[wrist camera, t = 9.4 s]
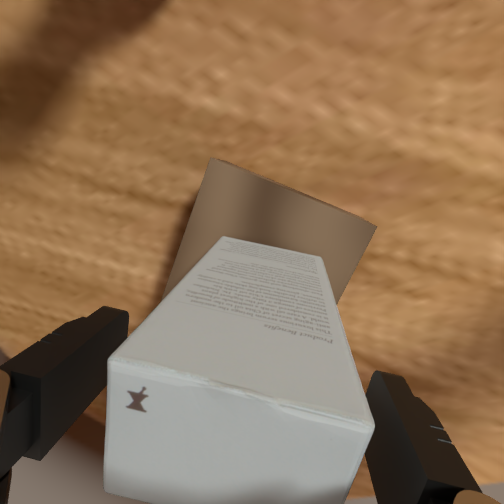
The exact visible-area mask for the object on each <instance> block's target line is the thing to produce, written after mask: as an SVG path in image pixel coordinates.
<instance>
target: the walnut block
mask: <svg viewBox="0 0 504 504" xmlns="http://www.w3.org/2000/svg"><path fill="white" fill-rule="evenodd" d="M376 228H377V226H375V225H373V224H372V223H370V222H368V221H366V220H365V219H363V218H361V217H359V216H357V215H355V214H352V213H350V212H347V211H345V210H343V209H340V208H338V207H335V206H333V205H331V204H328V203H326V202H323V201H321V200H319V199H316V198H314V197H311V196H309V195H307V194H304V193H302V192H299V191H297V190H295V189H292V188H290V187H287V186H285V185H283V184H280V183H278V182H275V181H273V180H271V179H268V178H266V177H263V176H261V175H259V174H256V173H254V172H251V171H249V170H246V169H244V168H242V167H239V166H237V165H234V164H232V163H230V162H227V161H224V160H219V159H215V158H210V161H209V163H208V166H207V169H206V172H205V175H204V178H203V181H202V184H201V187H200V189H199V192H198V195H197V198H196V201H195V204H194V207H193V210H192V213H191V215H190V218H189V221H188V224H187V227H186V230H185V233H184V236H183V239H182V241H181V244H180V247H179V250H178V253H177V256H176V259H175V262H174V265H173V268H172V270H171V273H170V276H169V279H168V282H167V285H166V288H165V291H164V294H163V296H162V299H161V301H162V300H163V299H164V298H165V297H166V296H167V295H168V294H169V293H170V292H171V291H172V290H173V288H174V287H175V286H176V285H177V284H178V283H179V282H180V281H181V280H182V279H183V278H184V276H185V275H186V274H187V273H188V272H189V271H190V270H191V269H192V268H193V267H194V266H195V265H196V264H197V263H198V262H199V261H200V259H201V258H202V257H203V256H204V255H205V254H206V253H207V252H208V251H209V250H210V249H211V248H212V247H213V245H214V244H215V243H216V242H217V241H218V240H219V239H220V238H221V237H222V236H226V237H230V238H235V239H239V240H244V241H249V242H254V243H258V244H263V245H268V246H273V247H277V248H282V249H287V250H291V251H296V252H300V253H305V254H310V255H315V256H320V257H321V258H322V260H323V262H324V266H325V269H326V272H327V275H328V278H329V282H330V285H331V288H332V292H333V295H334V299H335V302H336V305H337V303H338V301H339V299H340V297H341V296H342V294H343V292H344V290H345V288H346V286H347V284H348V282H349V280H350V278H351V276H352V274H353V272H354V271H355V269H356V267H357V265H358V263H359V261H360V259H361V257H362V255H363V253H364V251H365V249H366V247H367V246H368V244H369V242H370V240H371V238H372V236H373V234H374V232H375V230H376Z"/></svg>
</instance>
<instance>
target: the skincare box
mask: <svg viewBox="0 0 504 504" xmlns="http://www.w3.org/2000/svg"><path fill="white" fill-rule="evenodd" d="M374 428H375V424H374V420H373V417H372V414H371V412H370V408H369V405H368V402H367V399H366V396H365V393H364V390H363V387H362V384H361V381H360V378H359V375H358V372H357V369H356V366H355V362H354V359H353V356H352V353H351V350H350V347H349V344H348V341H347V337H346V334H345V331H344V327H343V324H342V321H341V318H340V314H339V311H338V308H337V305H336V302H335V299H334V295H333V292H332V288H331V285H330V282H329V278H328V275H327V272H326V269H325V266H324V262H323V260H322V258H321V257H320V256H315V255H310V254H305V253H300V252H296V251H291V250H287V249H282V248H277V247H273V246H268V245H263V244H258V243H254V242H249V241H244V240H239V239H235V238H230V237H226V236H222V237H221V238H220V239H219V240H218V241H217V242H216V243H215V244H214V245H213V247H212V248H211V249H210V250H209V251H208V252H207V253H206V254H205V255H204V256H203V257H202V258H201V259H200V261H199V262H198V263H197V264H196V265H195V266H194V267H193V268H192V269H191V270H190V271H189V272H188V273H187V274H186V275H185V276H184V278H183V279H182V280H181V281H180V282H179V283H178V284H177V285H176V286H175V287H174V288H173V290H172V291H171V292H170V293H169V294H168V295H167V296H166V297H165V298H164V299H163V300H162V301H161V302H160V304H159V305H158V306H157V307H156V308H155V309H154V310H153V311H152V312H151V313H150V314H149V315H148V316H147V318H146V319H145V320H144V321H143V322H142V323H141V324H140V325H139V326H138V327H137V328H136V329H135V330H134V331H133V332H132V333H131V335H130V336H129V337H128V338H127V339H126V340H125V341H124V342H123V343H122V344H121V345H120V346H119V347H118V348H117V349H116V350H115V351H114V352H113V353H112V354H111V356H110V357H109V358H108V361H107V406H106V432H105V450H104V474H103V476H104V478H103V480H104V481H103V486H104V487H103V489H104V491H105V492H106V493H110V494H113V495H118V496H122V497H126V498H130V499H134V500H139V501H142V502H147V503H151V504H344V502H345V500H346V497H347V495H348V493H349V490H350V488H351V485H352V483H353V480H354V478H355V475H356V473H357V470H358V468H359V466H360V463H361V461H362V458H363V456H364V453H365V451H366V448H367V446H368V444H369V441H370V439H371V437H372V434H373V432H374Z"/></svg>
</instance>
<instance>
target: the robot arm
mask: <svg viewBox="0 0 504 504" xmlns="http://www.w3.org/2000/svg"><path fill="white" fill-rule="evenodd" d="M128 324H129V314H128V312H127V311H125V310H120V309H116V308H112V307H108V306H103V307H101V308H99V309H98V310H97V311H95V312H94V313H92V314H91V315H89V316H88V317H87V318H86V317H81V318H78V319H75V320H73V321H70V322H67V323H65V324H63V325H62V326H60V327H59V328H57V329H56V330H54V331H53V332H52V334H48V335H47V336H45V337H44V338H42V339H41V341H37V342H36V343H34V344H33V345H31V346H30V347H28V348H27V349H25V350H24V351H22V352H21V353H19V354H18V355H16V356H15V357H13V358H12V359H10V360H9V361H7V362H6V363H4V364H3V365H1V366H0V504H8V498H9V491H10V484H11V476H12V466H13V465H14V464H15V463H16V462H17V461H18V460H19V459H20V458H21V457H22V456H24V457H27V458H32V459H35V460H39V461H41V460H42V458H43V457H44V456H45V455H46V454H47V453H48V452H49V450H50V449H51V448H52V447H53V446H54V445H55V443H56V442H57V441H58V440H59V439H60V438H61V437H62V436H63V434H64V433H65V432H66V431H67V430H68V429H69V428H70V426H71V425H72V424H73V423H74V422H75V420H77V418H78V417H79V416H80V415H81V414H82V413H83V412H84V410H85V409H86V408H87V407H88V406H89V405H90V404H91V402H92V401H93V400H94V399H95V398H96V397H97V396H98V394H99V393H100V392H101V391H102V390H103V389H104V388H105V386H106V385H107V361H108V358H109V357H110V356H111V354H112V353H113V352H114V351H115V350H116V349H117V348H118V347H119V346H120V345H121V344H122V343H123V342H124V341H125V340H126V339H127V335H128ZM365 396H366V399H367V402H368V405H369V408H370V412H371V414H372V417H373V420H374V424H375V428H374V432H373V434H372V437H371V439H370V441H369V444H368V446H367V448H366V451H365V457H366V461H367V465H368V468H369V472H370V476H371V480H372V484H373V487H374V491H375V495H376V499H377V502H378V504H501V503H499V502H498V501H496V500H495V499H493V498H491V497H489V496H487V495H485V494H483V493H482V491H481V489H480V488H479V486H478V484H477V483H476V481H475V479H474V478H473V476H472V474H471V473H470V471H469V469H468V468H467V466H466V464H465V463H464V461H463V459H462V458H461V456H460V454H459V453H458V451H457V449H456V448H455V446H454V445H453V444H451V442H452V441H451V439H450V438H449V436H448V434H447V433H446V431H444V430H443V426H442V424H441V423H440V421H439V419H438V418H437V416H436V414H435V413H434V412H433V411H432V410H431V409H430V408H429V407H428V406H427V405H426V404H425V403H424V402H423V401H422V400H421V399H420V398H418V397H414V395H413V394H412V392H411V390H410V388H409V386H408V384H407V383H406V381H405V379H404V378H403V377H402V376H399V375H395V374H391V373H386V372H382V371H378V370H377V371H375V372H374V373H373V375H372V377H371V380H370V383H369V386H368V389H367V392H366V395H365Z"/></svg>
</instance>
